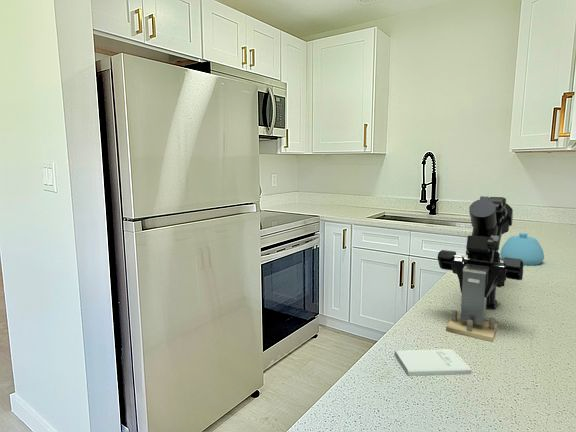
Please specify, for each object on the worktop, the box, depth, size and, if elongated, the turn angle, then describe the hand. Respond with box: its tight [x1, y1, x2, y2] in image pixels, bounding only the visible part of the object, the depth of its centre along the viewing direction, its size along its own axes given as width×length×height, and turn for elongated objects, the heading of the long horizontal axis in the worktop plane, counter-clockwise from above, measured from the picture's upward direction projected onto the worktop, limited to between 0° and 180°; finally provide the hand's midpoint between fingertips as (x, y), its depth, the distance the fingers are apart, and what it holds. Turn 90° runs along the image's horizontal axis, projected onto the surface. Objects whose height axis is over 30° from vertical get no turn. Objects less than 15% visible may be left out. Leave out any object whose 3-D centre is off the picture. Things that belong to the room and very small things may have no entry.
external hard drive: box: [394, 348, 473, 377], centre depth 76 cm, size 2×8×12 cm
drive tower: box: [460, 264, 489, 325], centre depth 90 cm, size 5×5×13 cm
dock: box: [445, 309, 499, 342], centre depth 91 cm, size 10×10×4 cm
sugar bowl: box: [499, 232, 545, 266], centre depth 150 cm, size 15×15×12 cm
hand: (473, 294), depth 89 cm, fingers closed on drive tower, 5 cm apart
